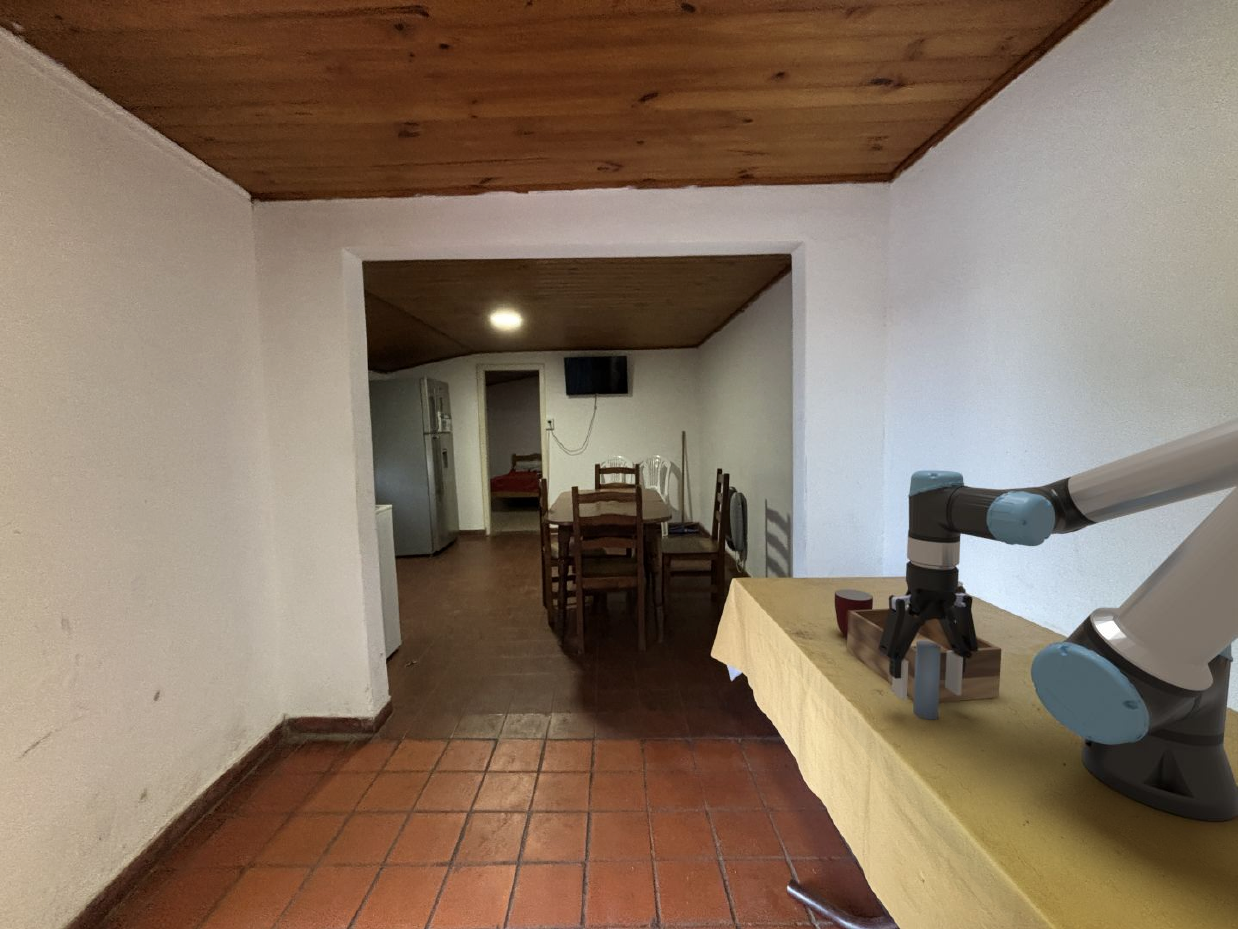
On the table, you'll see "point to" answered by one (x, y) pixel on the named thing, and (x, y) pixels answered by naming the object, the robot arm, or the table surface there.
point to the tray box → (865, 642)
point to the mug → (850, 606)
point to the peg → (927, 679)
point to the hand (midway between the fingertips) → (926, 693)
